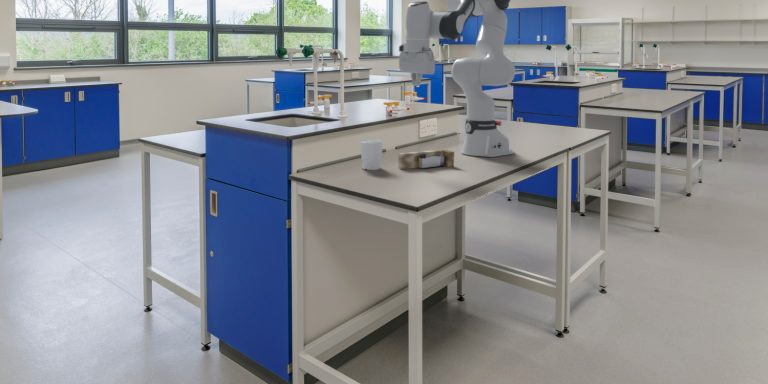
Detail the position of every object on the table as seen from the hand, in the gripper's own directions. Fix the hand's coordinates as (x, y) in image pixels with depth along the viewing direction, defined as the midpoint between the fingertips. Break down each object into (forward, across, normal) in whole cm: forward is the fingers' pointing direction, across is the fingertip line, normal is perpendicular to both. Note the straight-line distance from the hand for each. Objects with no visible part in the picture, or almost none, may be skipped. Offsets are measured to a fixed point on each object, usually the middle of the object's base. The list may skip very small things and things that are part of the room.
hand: (416, 85), depth 230 cm
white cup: (+29, -3, +20) cm, 36 cm away
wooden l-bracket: (+29, -10, +1) cm, 31 cm away
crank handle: (+29, -11, -1) cm, 31 cm away
